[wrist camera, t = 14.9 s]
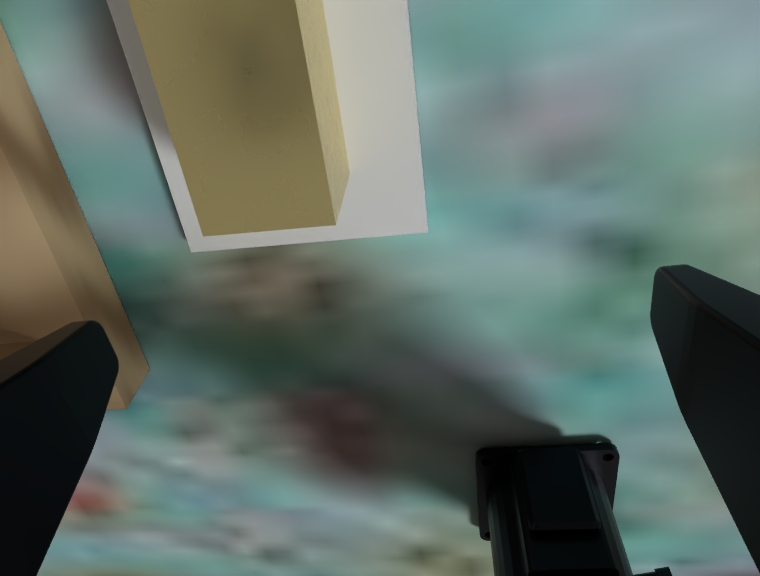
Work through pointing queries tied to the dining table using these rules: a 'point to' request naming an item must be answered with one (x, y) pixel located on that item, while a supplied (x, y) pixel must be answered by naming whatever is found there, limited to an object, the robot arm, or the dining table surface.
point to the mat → (359, 120)
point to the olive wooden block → (249, 109)
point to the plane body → (50, 242)
